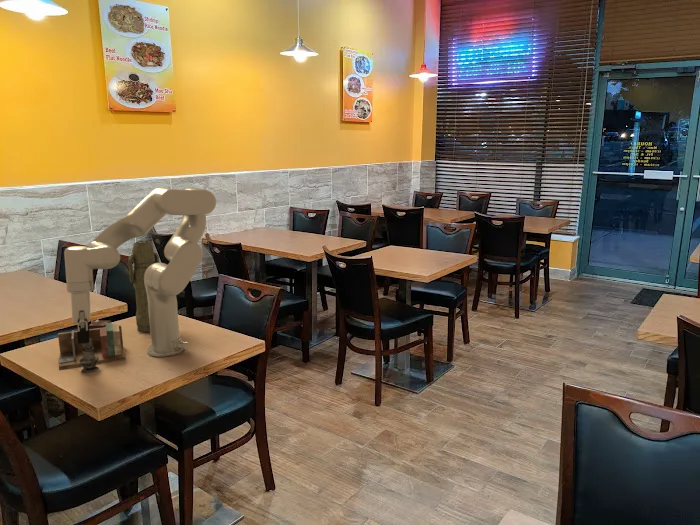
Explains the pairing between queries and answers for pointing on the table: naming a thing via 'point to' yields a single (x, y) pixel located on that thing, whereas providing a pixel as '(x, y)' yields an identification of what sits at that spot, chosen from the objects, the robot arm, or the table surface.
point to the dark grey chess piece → (88, 358)
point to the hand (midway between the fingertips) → (83, 337)
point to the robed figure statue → (141, 280)
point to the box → (98, 324)
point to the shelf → (95, 345)
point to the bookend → (69, 353)
